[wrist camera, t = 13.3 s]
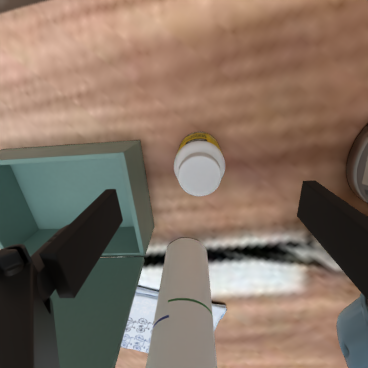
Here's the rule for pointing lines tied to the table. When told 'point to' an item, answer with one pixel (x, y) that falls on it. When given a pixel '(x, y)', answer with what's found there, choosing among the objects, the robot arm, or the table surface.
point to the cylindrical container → (183, 310)
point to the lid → (97, 314)
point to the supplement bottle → (199, 164)
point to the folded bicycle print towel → (150, 319)
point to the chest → (73, 193)
